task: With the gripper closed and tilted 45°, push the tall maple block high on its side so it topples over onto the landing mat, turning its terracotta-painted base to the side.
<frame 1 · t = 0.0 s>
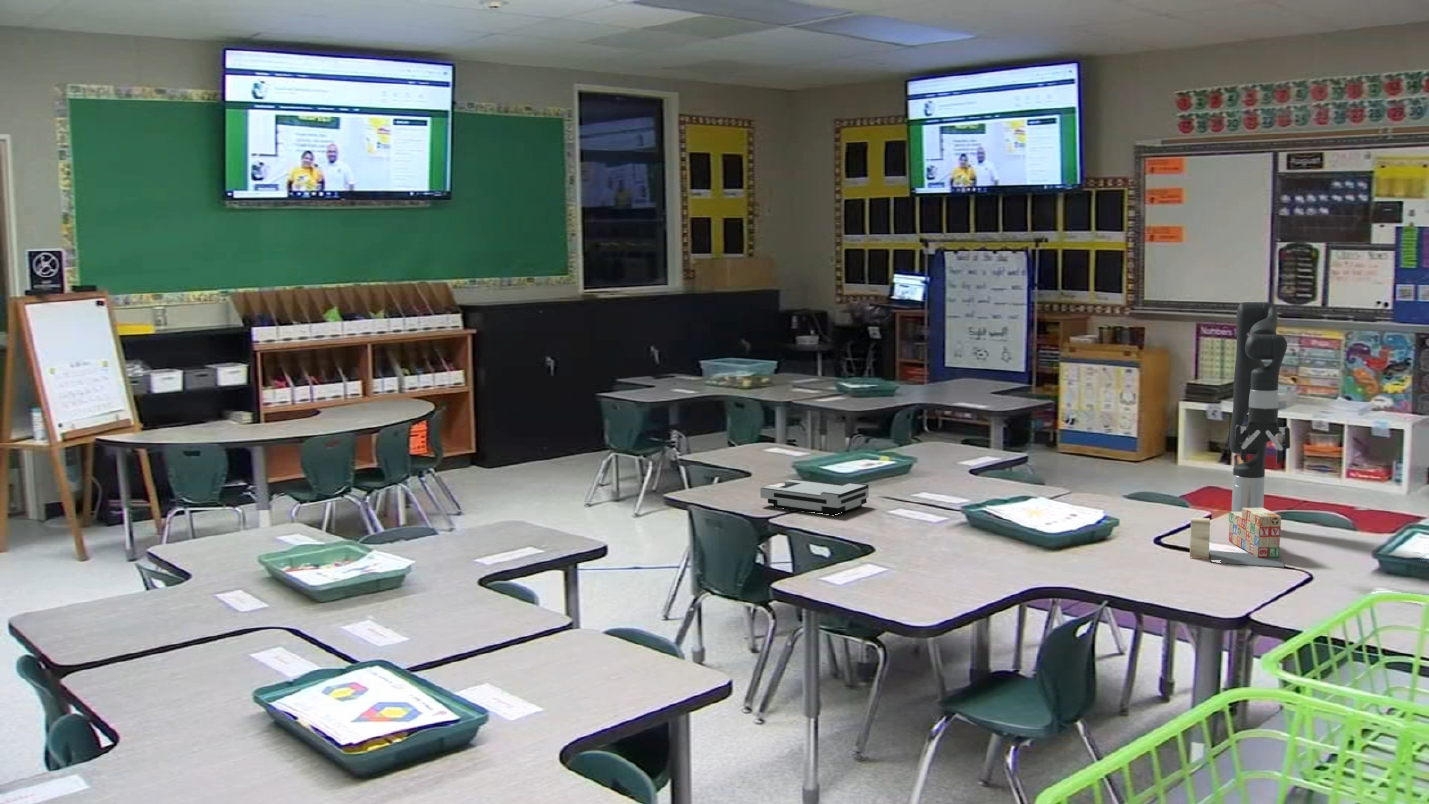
hand: (1261, 462, 339), 29 cm above the table, tool pointing down, fingers open, 8 cm apart
stack of blocks: (1253, 549, 358), on the table, touching landing mat
gray game console: (814, 508, 427), on the table
landing mat: (1245, 559, 348), on the table
maple block: (1199, 556, 352), on the table
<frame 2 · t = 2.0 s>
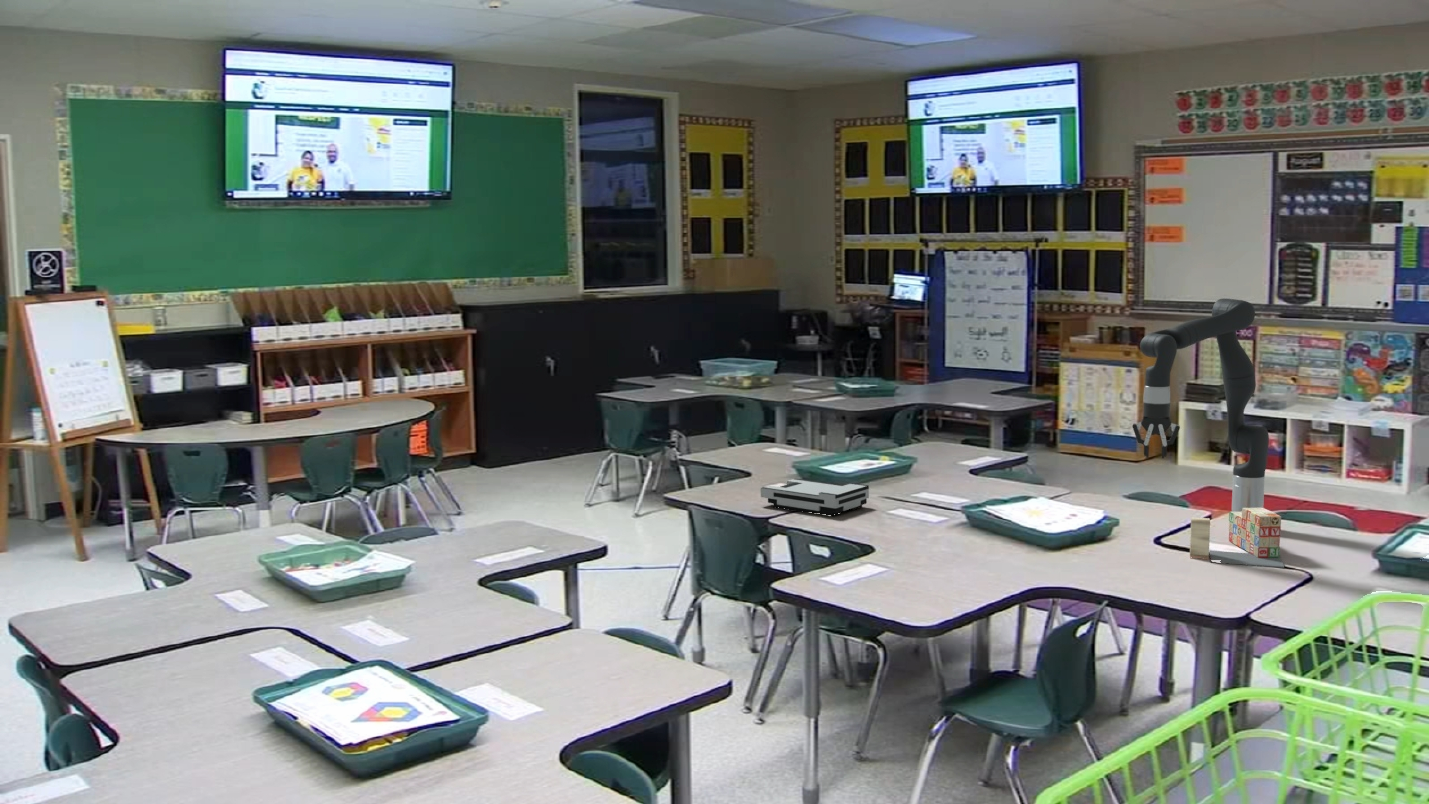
hand: (1155, 457, 361), 27 cm above the table, tool pointing down, fingers open, 3 cm apart
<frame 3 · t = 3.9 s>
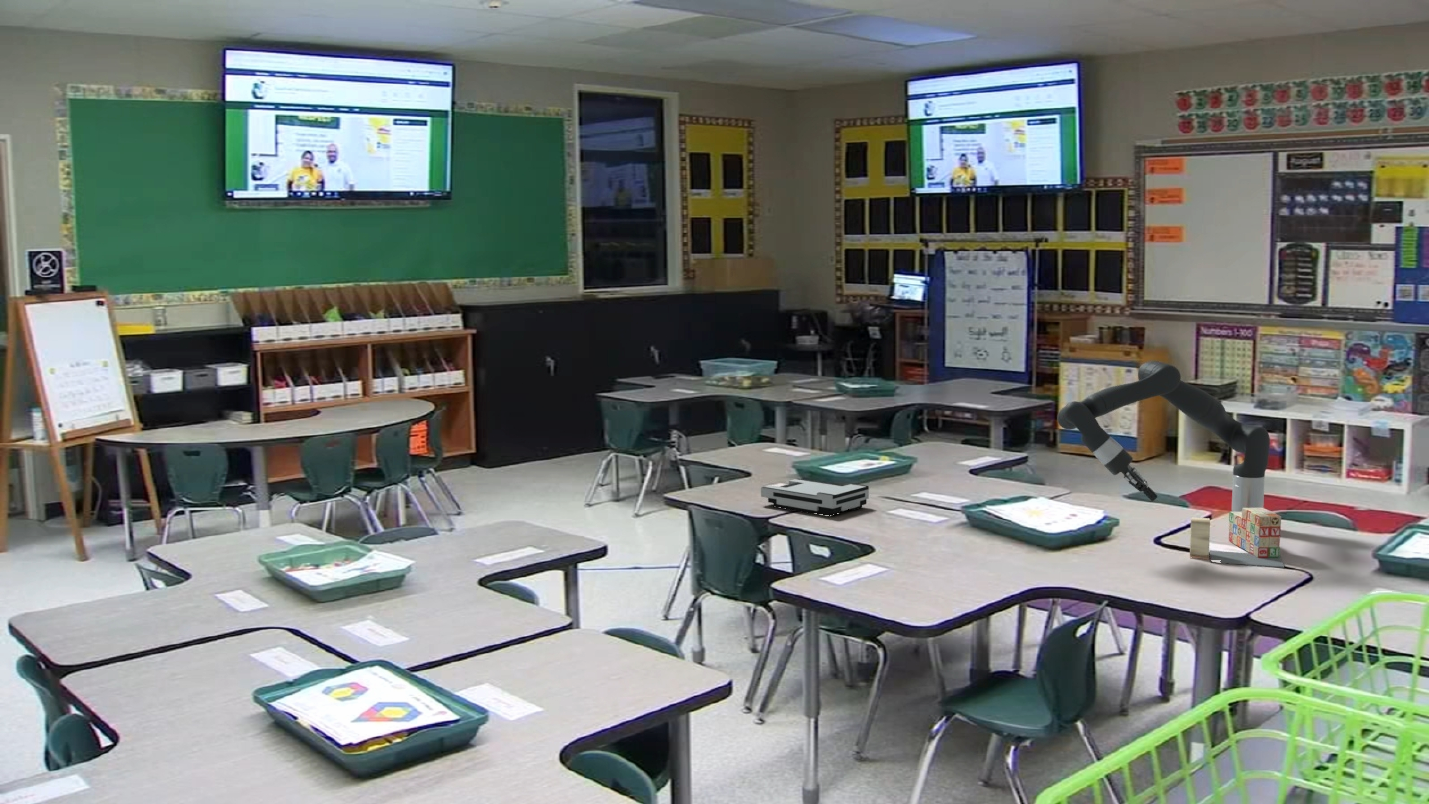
hand: (1155, 498, 354), 16 cm above the table, tool tilted 45°, fingers closed
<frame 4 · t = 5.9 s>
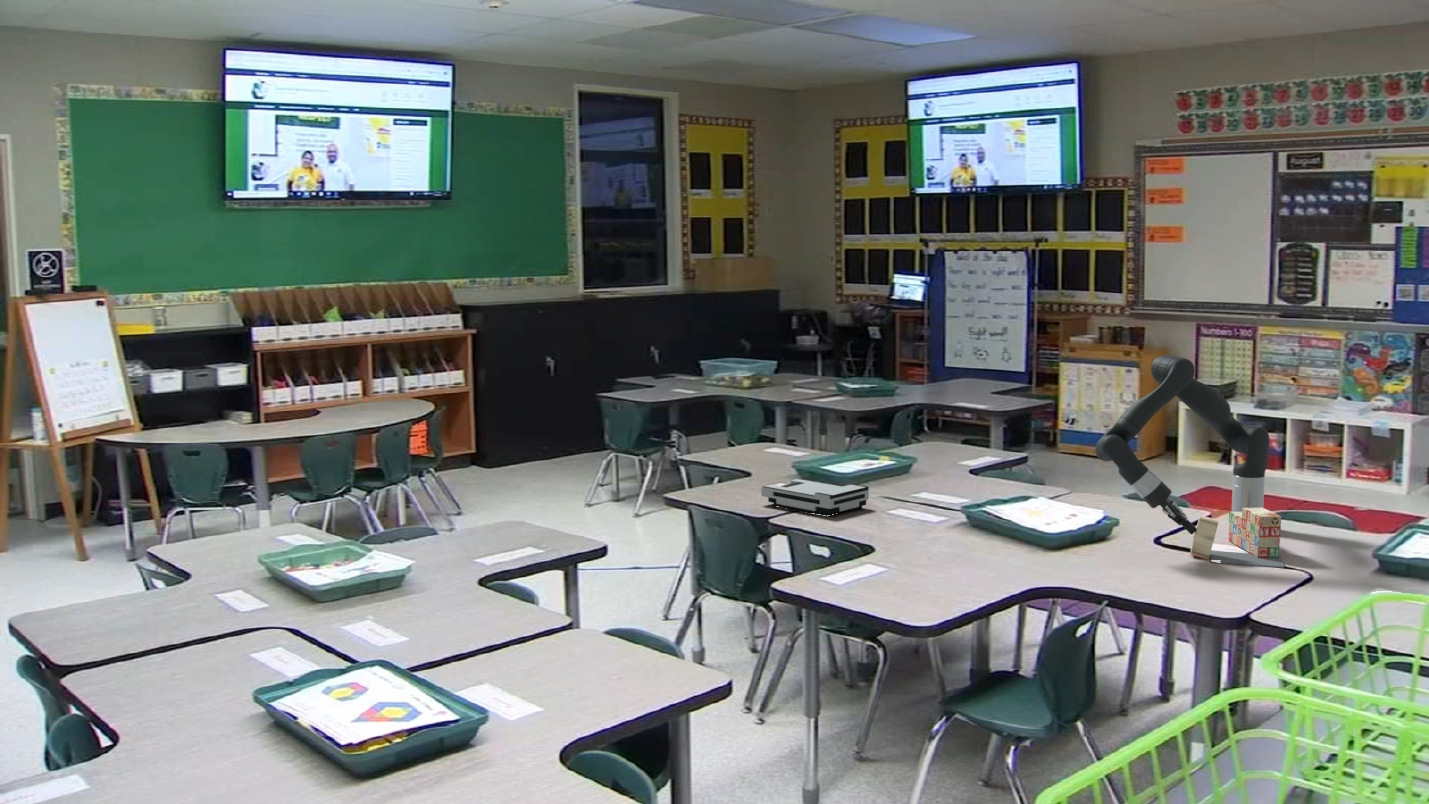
hand: (1194, 531, 352), 7 cm above the table, tool tilted 45°, fingers closed
maple block: (1199, 555, 352), on the table, tilted 11°, touching gripper
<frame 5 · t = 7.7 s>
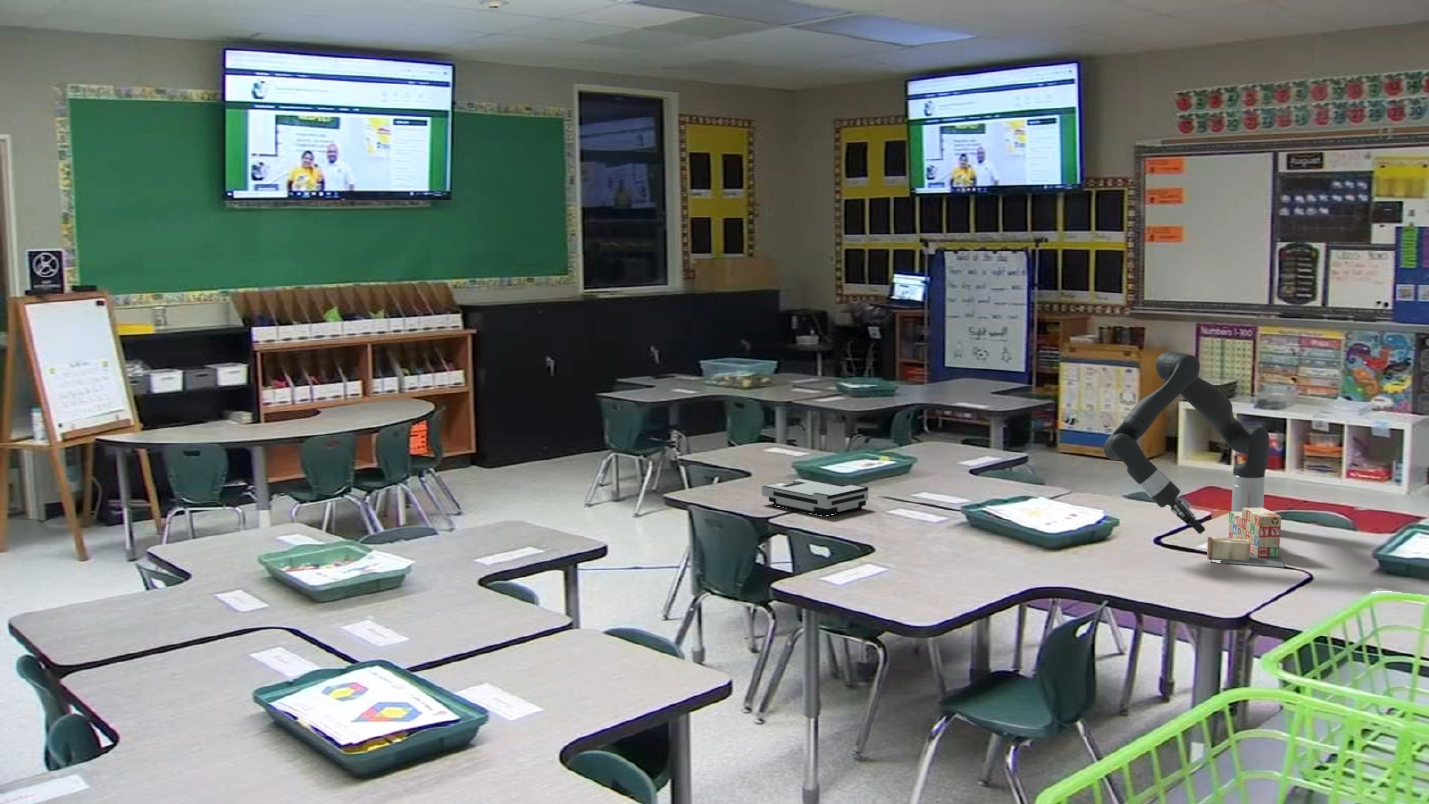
hand: (1202, 531, 351), 8 cm above the table, tool tilted 45°, fingers closed
maple block: (1207, 547, 351), point 3 cm above the table, tilted 90°, touching landing mat
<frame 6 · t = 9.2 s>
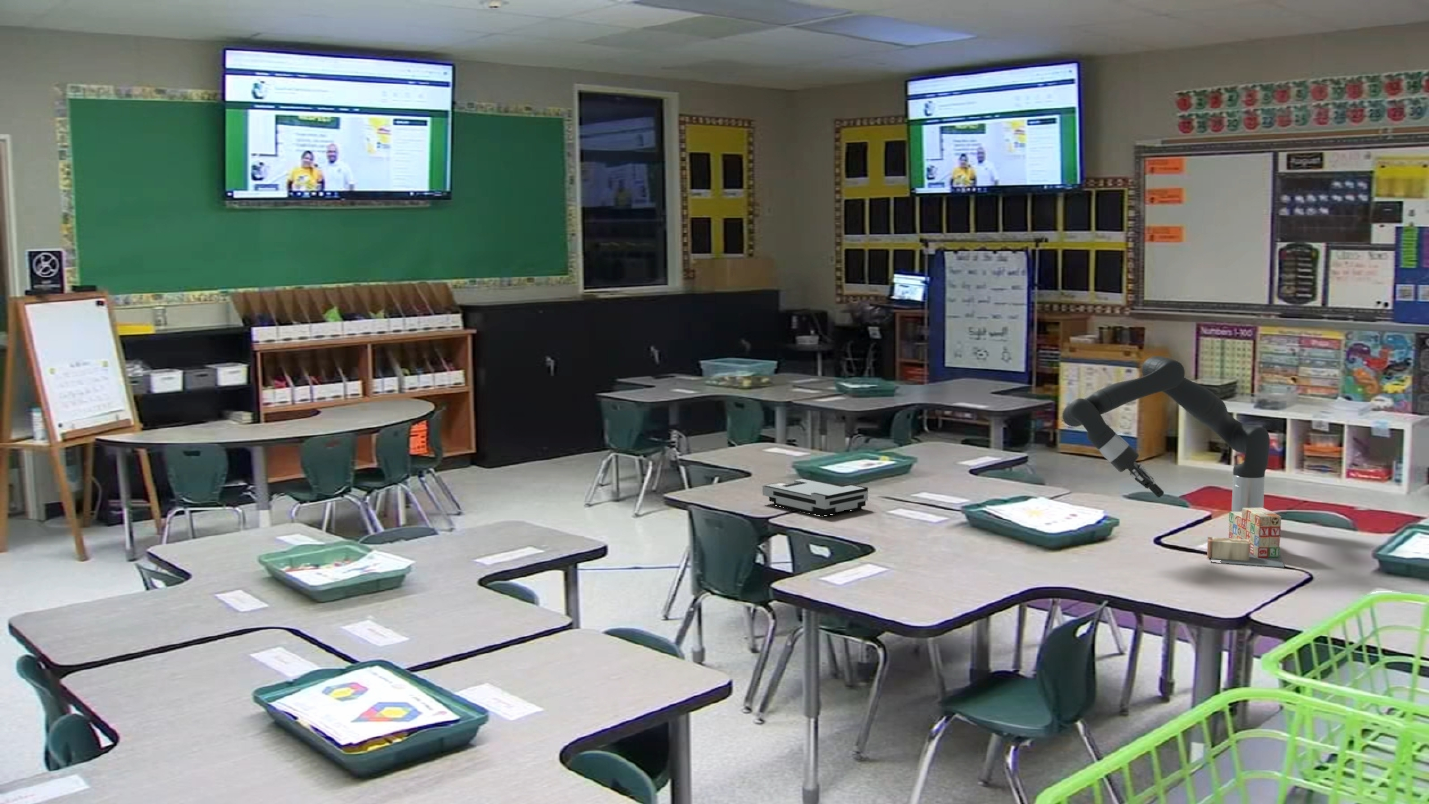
hand: (1161, 495, 353), 18 cm above the table, tool tilted 45°, fingers closed
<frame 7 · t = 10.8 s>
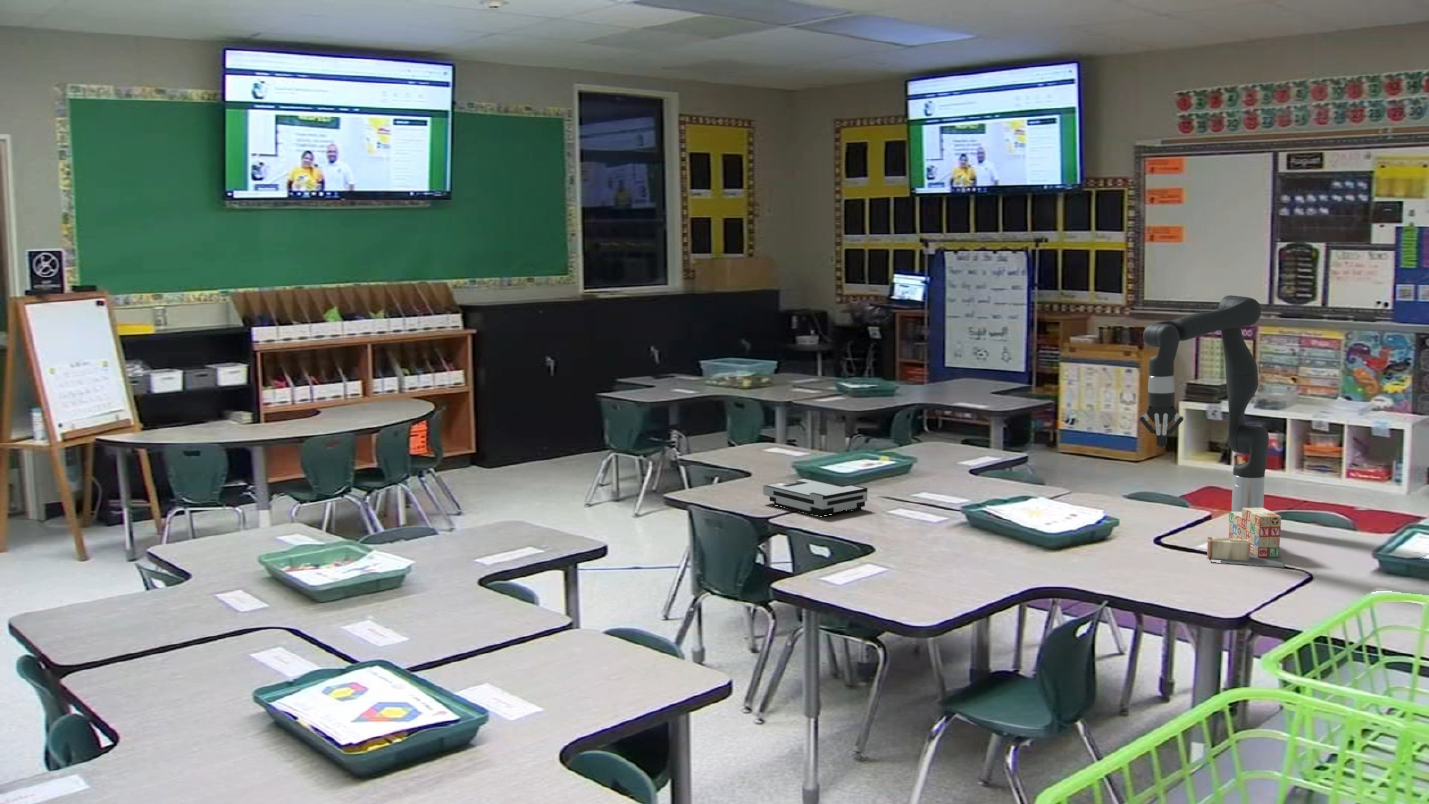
hand: (1161, 447, 364), 30 cm above the table, tool pointing down, fingers closed
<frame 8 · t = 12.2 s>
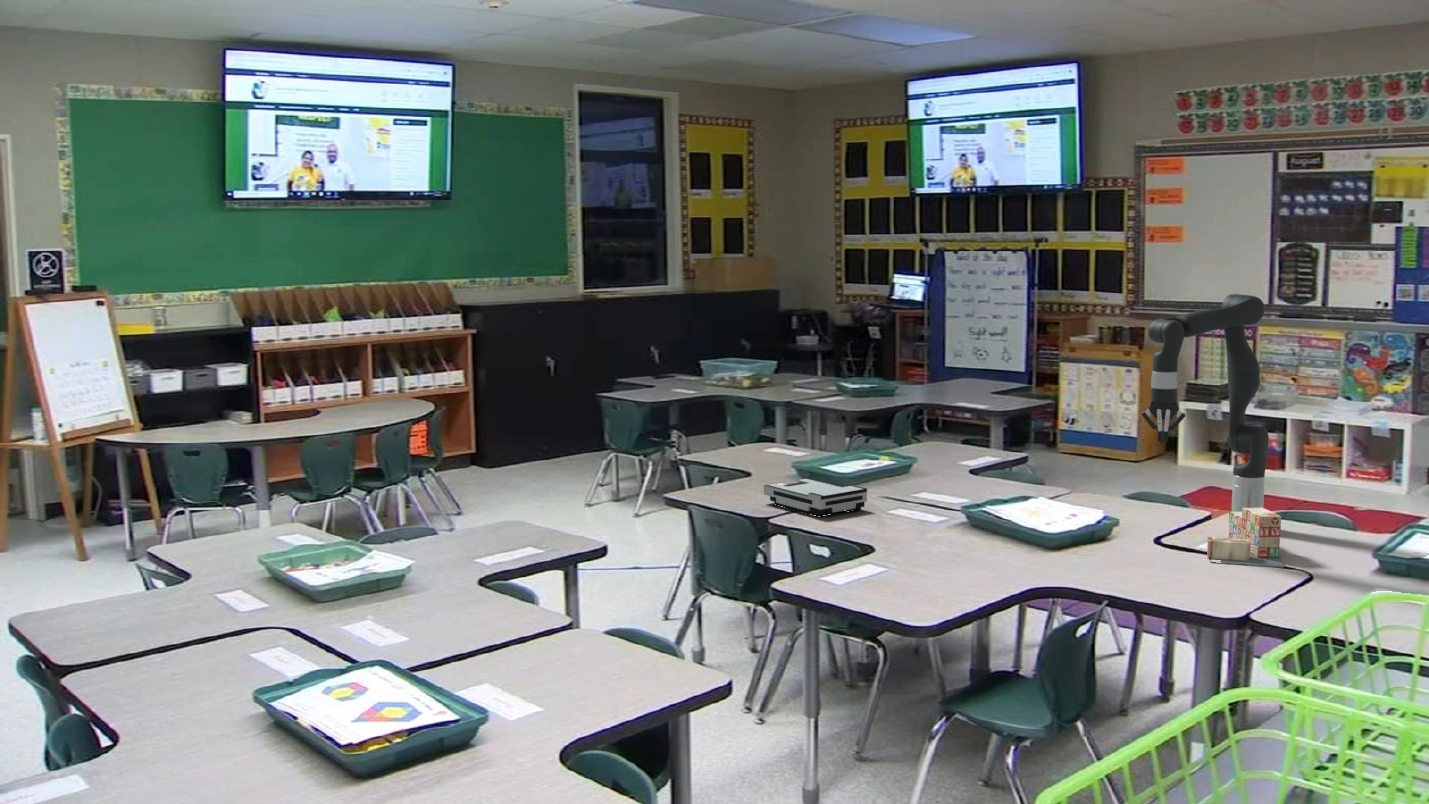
hand: (1162, 443, 364), 31 cm above the table, tool pointing down, fingers closed
at the end: maple block tilted 90°; maple block touching landing mat; maple block inside the target area (0.8 cm from its centre), point 2.9 cm above the table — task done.
